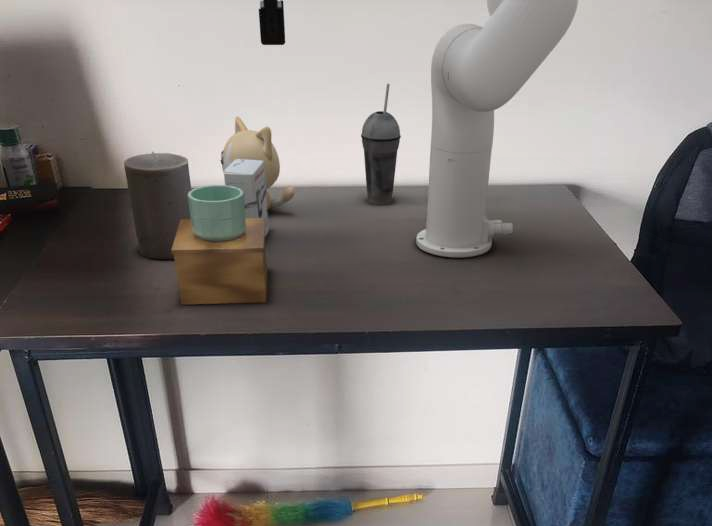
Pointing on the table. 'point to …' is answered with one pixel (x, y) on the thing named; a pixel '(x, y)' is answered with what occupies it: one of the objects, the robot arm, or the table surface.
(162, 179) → the pillar candle
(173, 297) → the table surface
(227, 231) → the teal green pot
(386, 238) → the table surface
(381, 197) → the beverage cup
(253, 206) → the ink box
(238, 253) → the wooden stand
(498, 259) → the table surface
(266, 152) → the kitten
